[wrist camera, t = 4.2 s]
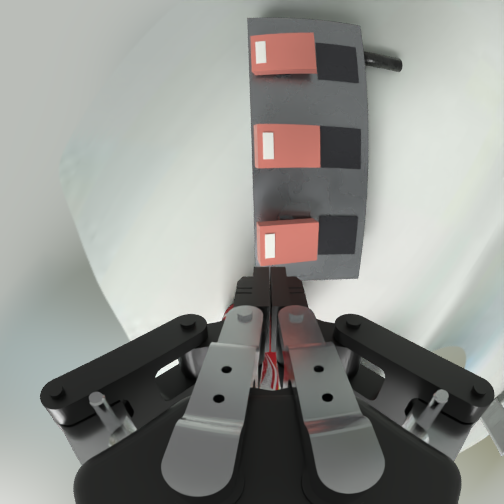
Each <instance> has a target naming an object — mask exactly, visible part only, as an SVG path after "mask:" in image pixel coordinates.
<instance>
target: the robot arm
mask: <svg viewBox="0 0 504 504" xmlns="http://www.w3.org/2000/svg"><path fill="white" fill-rule="evenodd" d="M270 332H271V352H276V371H277V378H278V384H279V390H272V391H271V390H265V389H260V387H261V379H262V371H263V361H264V359H265V352H269V345H270ZM362 358H364V359H366V360H368V361H369V362H371V363H373V364H375V365H376V366H378V367H380V368H381V369H382V370H383V371H384V373H385V378H383V377H381V376H380V375H378V374H376V373H375V372H373V371H371V370H370V369H368V368H366V367H365V366H363V365H362V364H361V361H362ZM176 359H178V361H179V364H178V365H176V366H174V367H173V368H171V369H170V370H168V371H166V372H165V373H163V374H161V375H160V376H158V377H156V378H155V376H156V374H157V372H158V371H159V370H160V369H161V368H163V367H164V366H166V365H168V364H169V363H171V362H173V361H174V360H176ZM40 399H41V402H42V404H43V406H44V407H45V408H46V409H47V411H48V412H49V413H50V415H51V416H52V418H53V420H54V421H55V422H56V424H57V425H58V426H59V427H60V429H61V430H62V431H63V432H64V434H65V436H66V437H67V439H68V441H69V443H70V445H71V447H72V449H73V451H74V453H75V454H76V456H77V458H78V460H79V461H80V463H81V464H82V466H81V467H80V469H79V470H78V472H77V474H76V477H75V481H74V497H75V502H76V504H458V500H459V496H460V491H461V475H460V472H459V469H458V467H457V466H456V464H455V463H454V460H455V458H456V457H457V455H458V453H459V451H460V450H461V448H462V446H463V444H464V442H465V440H466V438H467V436H468V434H469V432H470V429H471V428H472V427H473V426H474V425H475V423H476V422H477V421H478V420H479V418H480V417H481V416H482V415H483V413H484V412H485V411H486V410H487V408H488V407H489V406H490V404H491V403H492V402H493V400H494V390H493V387H492V386H491V384H490V383H489V382H488V381H487V380H485V379H483V378H481V377H479V376H477V375H475V374H474V373H472V372H470V371H468V370H466V369H464V368H462V367H460V366H458V365H456V364H454V363H452V362H450V361H448V360H446V359H444V358H442V357H440V356H438V355H436V354H434V353H432V352H430V351H428V350H426V349H424V348H423V347H421V346H419V345H417V344H415V343H413V342H411V341H409V340H407V339H405V338H403V337H401V336H399V335H397V334H395V333H393V332H391V331H389V330H388V329H386V328H384V327H382V326H380V325H378V324H376V323H374V322H372V321H370V320H368V319H366V318H364V317H362V316H360V315H356V314H345V315H342V316H340V317H338V318H337V319H336V321H335V323H329V322H324V321H321V320H318V319H316V317H315V315H314V313H313V311H312V310H310V309H309V308H308V304H307V300H306V296H305V293H304V288H303V284H302V281H301V280H300V279H298V278H297V277H296V276H288V277H287V274H286V268H285V267H270V281H269V267H254V273H253V277H242V278H241V279H240V280H239V281H238V283H237V289H236V294H235V299H234V305H233V308H232V309H231V310H230V311H229V312H228V313H227V315H226V318H225V320H223V321H220V322H216V323H210V324H207V322H206V320H205V319H204V318H203V317H202V316H199V315H195V314H187V315H182V316H179V317H177V318H175V319H173V320H171V321H169V322H167V323H165V324H163V325H162V326H160V327H158V328H156V329H154V330H152V331H150V332H148V333H146V334H144V335H142V336H140V337H138V338H136V339H134V340H132V341H130V342H129V343H127V344H125V345H123V346H121V347H119V348H117V349H115V350H113V351H111V352H109V353H107V354H105V355H103V356H101V357H99V358H97V359H95V360H93V361H91V362H89V363H87V364H84V365H82V366H80V367H78V368H76V369H74V370H72V371H70V372H68V373H66V374H64V375H62V376H60V377H58V378H56V379H53V380H52V381H50V382H48V383H47V384H46V385H45V386H44V387H43V389H42V391H41V394H40Z"/></svg>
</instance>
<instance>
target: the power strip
mask: <svg viewBox="0 0 504 504" xmlns="http://www.w3.org/2000/svg"><path fill="white" fill-rule="evenodd" d="M247 20H248V48H249V77H250V106H251V137H252V168H253V201H254V235H255V267H269V281H270V267H285V268H286V274H287V277H288V276H296V277H297V278H298V279H300V280H330V279H358V276H359V269H360V262H361V254H362V245H363V236H364V225H365V213H366V199H367V181H368V103H367V85H366V72H365V65H367V66H373V67H378V68H383V69H388V70H393V71H397V72H400V71H401V70H402V61H401V60H400V59H397V58H393V57H389V56H384V55H380V54H375V53H369V52H364V51H363V44H362V36H361V29H360V26H358V25H353V24H347V23H340V22H332V21H324V20H314V19H300V18H247ZM279 33H314V41H315V53H316V67H317V74H271V75H255V74H254V73H253V72H252V65H251V38H250V36H255V35H266V34H279ZM256 124H297V125H317V126H320V168H256V167H255V152H254V125H256ZM308 218H313V219H315V220H316V221H318V222H319V232H318V250H317V260H315V261H305V262H296V263H287V264H277V265H268V266H260V264H259V262H258V260H257V222H263V221H277V220H292V219H308Z"/></svg>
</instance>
